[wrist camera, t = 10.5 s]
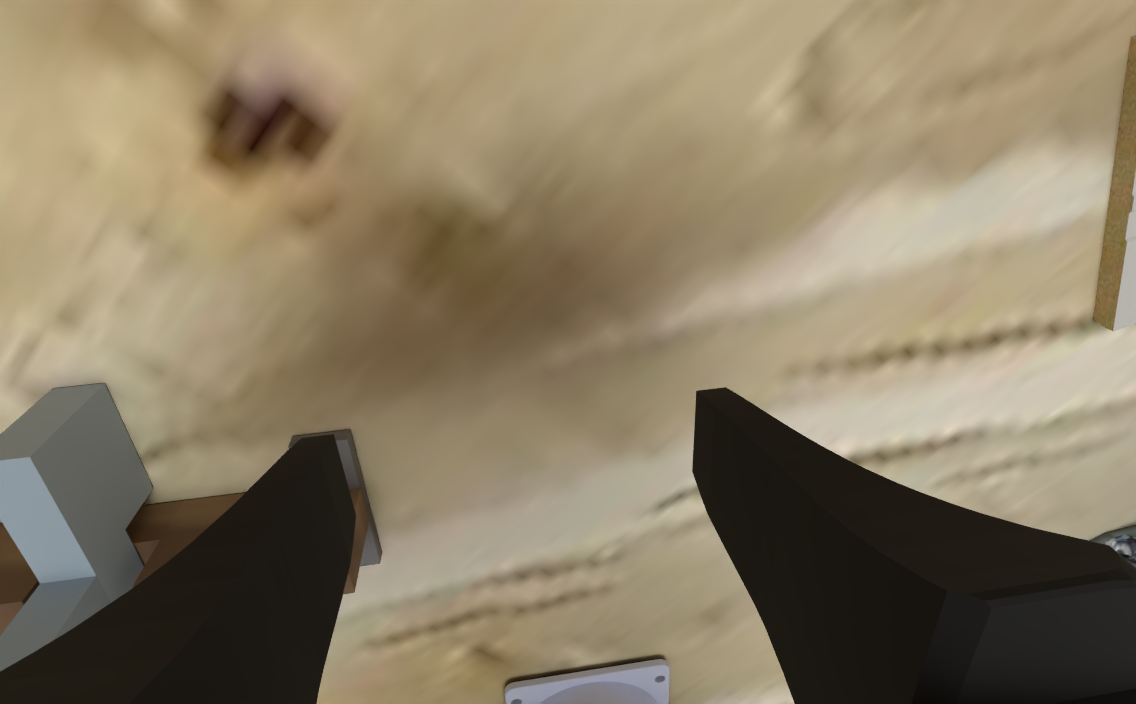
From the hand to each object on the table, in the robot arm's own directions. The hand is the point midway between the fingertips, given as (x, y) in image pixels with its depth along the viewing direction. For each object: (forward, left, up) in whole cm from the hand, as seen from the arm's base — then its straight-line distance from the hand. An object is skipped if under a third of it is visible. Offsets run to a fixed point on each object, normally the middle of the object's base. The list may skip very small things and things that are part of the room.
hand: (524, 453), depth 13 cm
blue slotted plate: (-8, +14, -9) cm, 19 cm away
